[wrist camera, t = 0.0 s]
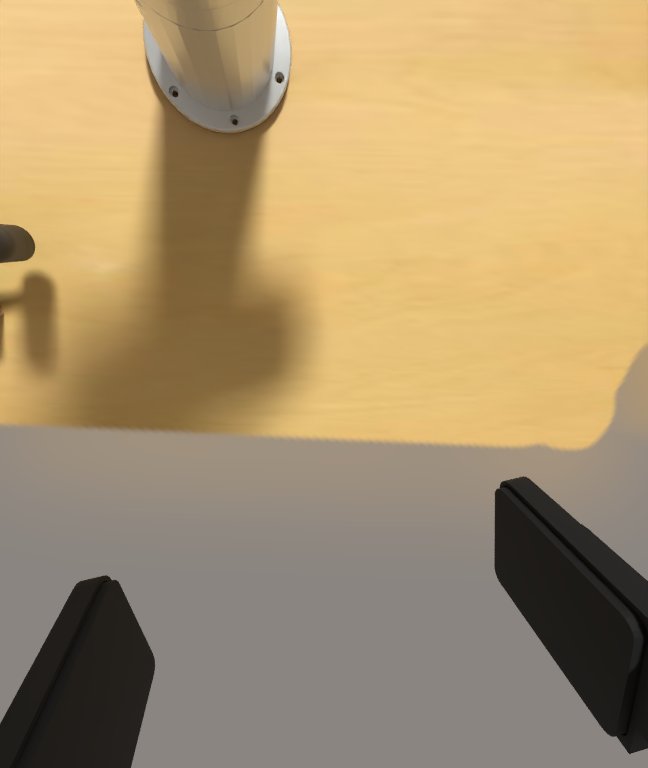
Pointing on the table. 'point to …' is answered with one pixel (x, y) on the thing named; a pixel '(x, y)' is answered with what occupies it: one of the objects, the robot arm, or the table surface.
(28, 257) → the striker
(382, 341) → the table surface
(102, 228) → the table surface
